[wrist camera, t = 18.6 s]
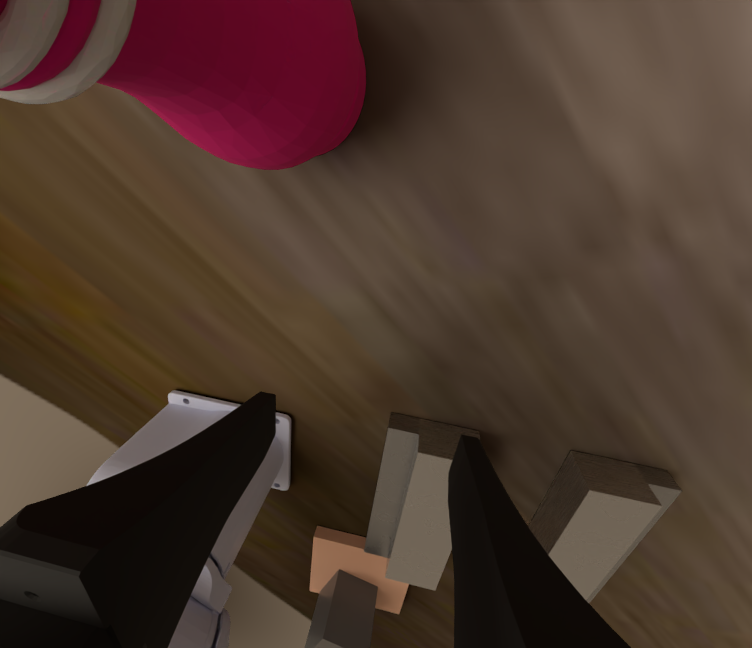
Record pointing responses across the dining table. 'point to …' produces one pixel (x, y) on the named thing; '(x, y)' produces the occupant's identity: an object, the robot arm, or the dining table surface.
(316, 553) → the pad
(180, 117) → the pepper mill
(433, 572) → the parallel gray bars
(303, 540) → the dining table surface
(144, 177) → the dining table surface
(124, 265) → the dining table surface
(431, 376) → the dining table surface
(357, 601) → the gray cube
